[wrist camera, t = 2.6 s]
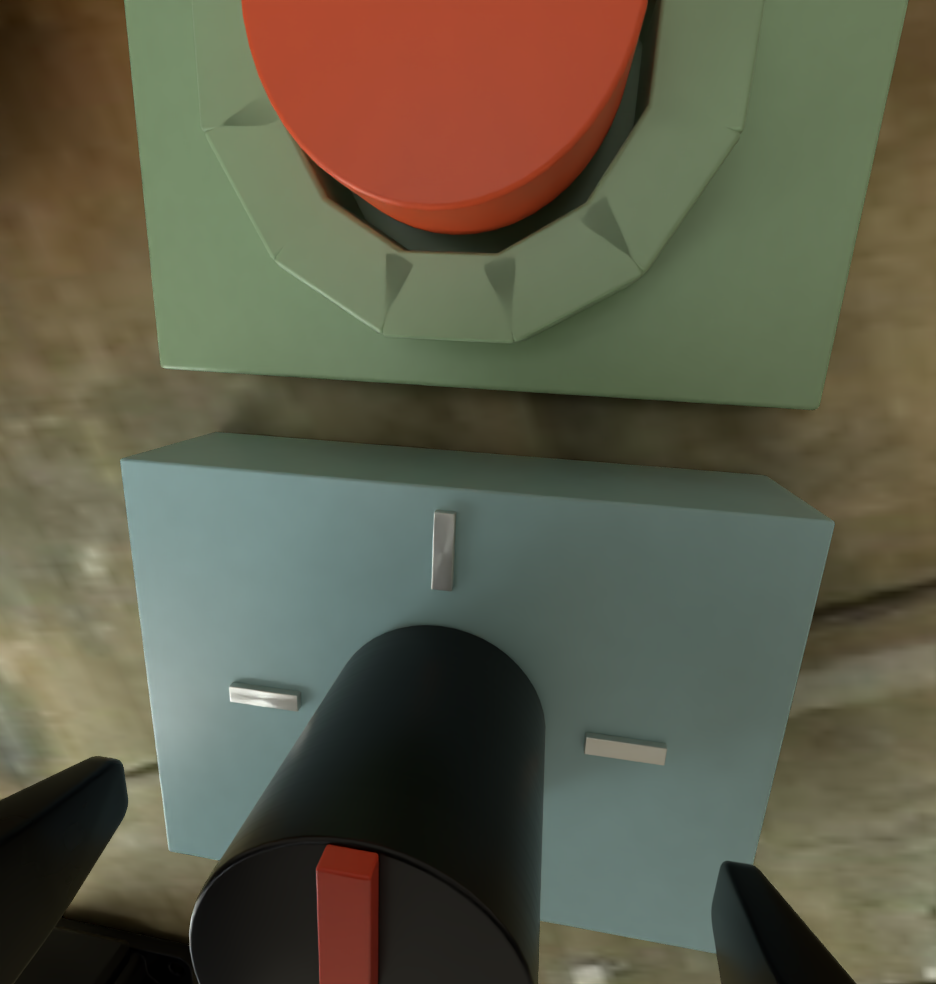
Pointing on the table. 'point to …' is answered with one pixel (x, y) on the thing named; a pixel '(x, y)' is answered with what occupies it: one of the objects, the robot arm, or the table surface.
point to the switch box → (531, 220)
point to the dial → (392, 830)
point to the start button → (447, 97)
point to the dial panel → (488, 638)
